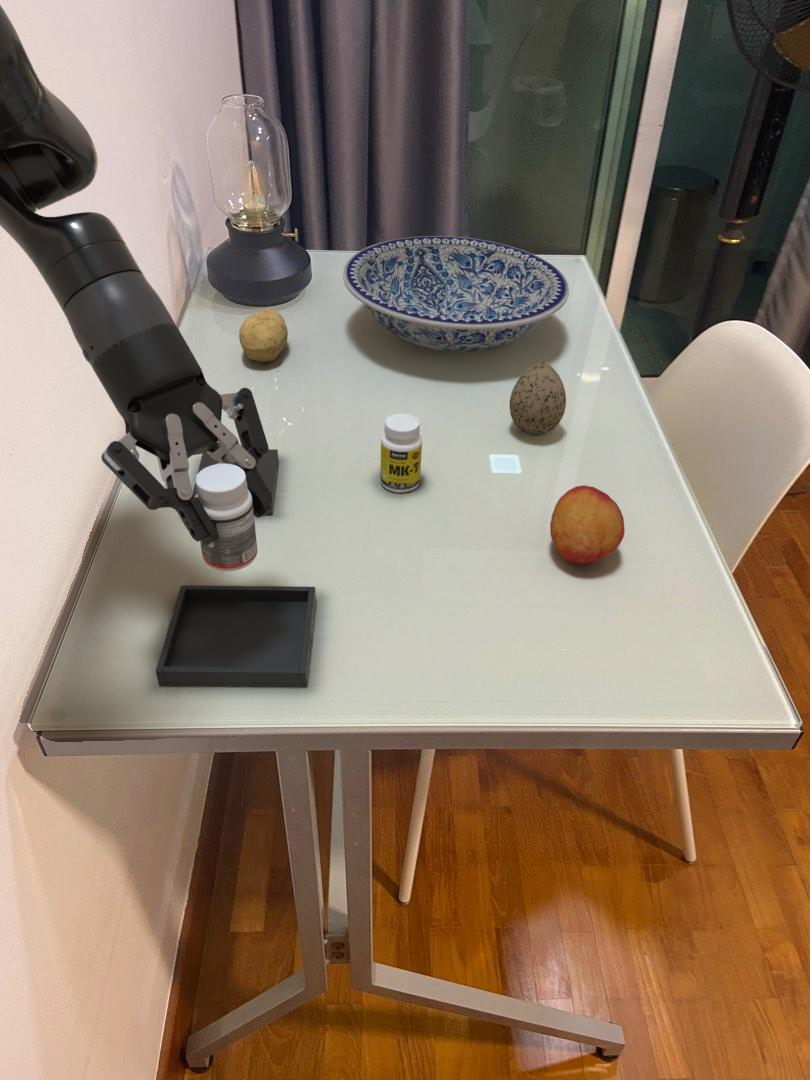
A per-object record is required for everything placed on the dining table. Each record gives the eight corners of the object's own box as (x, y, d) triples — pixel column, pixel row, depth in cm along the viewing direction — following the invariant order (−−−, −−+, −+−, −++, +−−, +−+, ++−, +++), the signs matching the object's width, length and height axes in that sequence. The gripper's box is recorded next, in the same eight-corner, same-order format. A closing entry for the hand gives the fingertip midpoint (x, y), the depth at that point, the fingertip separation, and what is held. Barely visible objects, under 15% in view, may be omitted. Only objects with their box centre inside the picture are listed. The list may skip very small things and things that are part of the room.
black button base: (272, 519, 92) (269, 494, 89) (191, 520, 91) (186, 495, 89) (278, 460, 101) (276, 436, 98) (204, 461, 100) (201, 437, 98)
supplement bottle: (385, 496, 95) (386, 435, 90) (376, 473, 99) (376, 413, 94) (424, 490, 96) (428, 430, 91) (414, 468, 100) (416, 408, 95)
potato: (232, 369, 118) (227, 329, 114) (254, 336, 127) (250, 297, 123) (277, 373, 118) (274, 333, 114) (296, 340, 126) (293, 301, 122)
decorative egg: (494, 429, 107) (502, 360, 101) (532, 412, 111) (541, 344, 105) (534, 453, 103) (545, 382, 97) (572, 434, 107) (584, 365, 101)
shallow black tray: (158, 685, 73) (155, 671, 71) (183, 598, 81) (180, 584, 80) (306, 686, 73) (305, 672, 72) (316, 600, 82) (315, 586, 80)
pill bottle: (196, 545, 72) (183, 467, 66) (248, 532, 73) (239, 455, 68) (210, 579, 68) (197, 499, 63) (265, 564, 70) (256, 485, 65)
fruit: (631, 552, 89) (647, 492, 84) (591, 589, 84) (605, 528, 79) (570, 521, 93) (581, 463, 88) (529, 554, 88) (538, 495, 83)
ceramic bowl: (559, 397, 114) (570, 331, 108) (321, 374, 118) (318, 308, 112) (561, 300, 141) (570, 241, 134) (367, 283, 144) (366, 225, 138)
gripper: (59, 353, 59) (180, 557, 60) (222, 299, 67) (325, 480, 68) (42, 391, 65) (152, 576, 66) (192, 337, 73) (287, 503, 74)
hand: (239, 526), depth 67 cm, fingers closed on pill bottle, 4 cm apart
